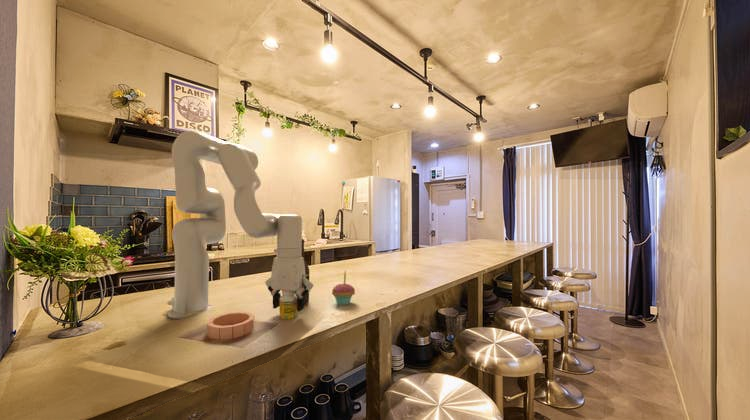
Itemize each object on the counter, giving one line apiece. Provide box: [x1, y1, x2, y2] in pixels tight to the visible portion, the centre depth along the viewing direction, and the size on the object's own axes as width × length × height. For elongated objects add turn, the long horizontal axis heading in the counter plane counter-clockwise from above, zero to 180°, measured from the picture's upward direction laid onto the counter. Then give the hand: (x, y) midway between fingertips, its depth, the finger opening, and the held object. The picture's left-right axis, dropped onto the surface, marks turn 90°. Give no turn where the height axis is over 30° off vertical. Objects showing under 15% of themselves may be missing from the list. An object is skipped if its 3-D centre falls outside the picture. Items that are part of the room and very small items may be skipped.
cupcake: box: [331, 270, 356, 306], centre depth 105 cm, size 9×8×12 cm
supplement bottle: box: [279, 290, 298, 320], centre depth 88 cm, size 5×5×10 cm
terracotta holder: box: [206, 311, 255, 340], centre depth 77 cm, size 11×11×3 cm
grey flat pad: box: [178, 320, 279, 349], centre depth 77 cm, size 20×15×1 cm
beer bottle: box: [295, 238, 310, 306], centre depth 104 cm, size 8×8×24 cm
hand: (288, 308), depth 88 cm, fingers open, 7 cm apart
